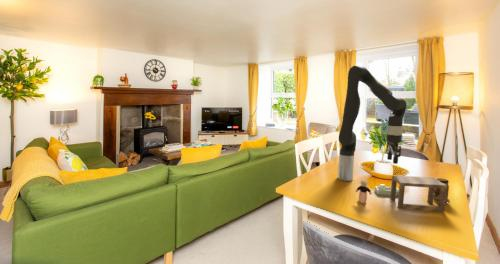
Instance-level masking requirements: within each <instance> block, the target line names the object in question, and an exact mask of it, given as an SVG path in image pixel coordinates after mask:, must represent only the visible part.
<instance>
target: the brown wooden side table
mask: <svg viewBox="0 0 500 264" xmlns="http://www.w3.org/2000/svg"><path fill="white" fill-rule="evenodd" d="M437 179H438V178H436V177H431V176H429V177H428V176H411V175H410V176H408V175H407V176H406V175H391V184H390V185H391V196H390V197H389V198H390V201H393V202H395V201H396V197H398V198H397V199H398V200H397V208H398V209H399V210H412V211H424V212H425V211H427V212H436V211H437V212H438V213H445V206H446V204H445V198H446V189H447V185H445V184H444V183H442V182H440V181H439V180H437ZM397 184H398V189H399V195H398V196H396V188H397ZM405 187H419V188H428V189H427V190H428V191H427V203H428V204H429V205H428V204H417V203H404V199H405V191H406V190H405ZM434 188H440V194H439V203H438V202H437V203H438V204H437V205H430V204H434V201H433V197H434Z"/></svg>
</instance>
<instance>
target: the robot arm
mask: <svg viewBox="0 0 500 264" xmlns="http://www.w3.org/2000/svg"><path fill="white" fill-rule="evenodd" d="M360 82H361V83H363V84H364V85H366V86H367V87H368V88H369V89H370V92H371V93H372V94H373V95H374V97H377V99H379V100H380V101H381V102H382V104H383V105H384V107H385V108H387V109H388V110H390V111H392V114H391V115H390V116H388V122H387V129H386V139H385V140H386V146H385V147H386V149H385V151H386V152H387V156H386V157H387V160H389V161H390V160H392V163H393V164H395V165H397V164H398V163H399V158H400V157H401V156H402V155H401V154H402V152H401V151H402V145H399V144H400V143H402V142H403V119H404V116H405V113H406V111H407V102H406V100H405V99H404V98H402V97H401V98H399V97H398V98H397V97H395V96H394V95H393V92H392V91H391V90H390V89H389V88H387V86H385V85H383V84H382V83H381V82H379V80H378V79H376V77H374V76H373V74H372V73H371V72H370V71H369V70H368V68H366V67H365V66H360V65H352V66H351V67H350V68H349V70H348V74H347V89H346V95H345V102H344V105H343V106H344V108H343V114H342V120H341V121H342V122H341V127H340V131H339V134H338V135H339V136H338V142H339V143H340V145H341V148H340V149H339V158H338V167H337V178H338V180H339V181H343V180H344V181H343V182H351V181H353V179H354V163H355V161H354V160H355V152H356V146H357V134H356V133H355V131H353V129H354V125H355V123H356V120H357V118H358V115H359V112H360V108H361V97H360V93H359V83H360Z"/></svg>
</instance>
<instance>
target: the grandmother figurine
mask: <svg viewBox="0 0 500 264" xmlns="http://www.w3.org/2000/svg"><path fill="white" fill-rule="evenodd" d="M368 184H369V183H368V181H367V180H366V179H361V180H360V186H358V187H357V188H356V189H355V193H358V192H359V193H358V200H357V201H356V203H358V204H363V205H367V198H368V194H369V195H372V190H371V188H369V187H367V185H368ZM367 192H368V193H367Z"/></svg>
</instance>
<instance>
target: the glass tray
mask: <svg viewBox="0 0 500 264" xmlns="http://www.w3.org/2000/svg"><path fill="white" fill-rule="evenodd" d="M374 192H375V194H376V195H377V196H388V197H389V196H390V197H391V184H390V186H386V184H383V183H382V184H381V183H380V184H379V185H377V186H374ZM398 195H399V187H396V196H395V197H398Z"/></svg>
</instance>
